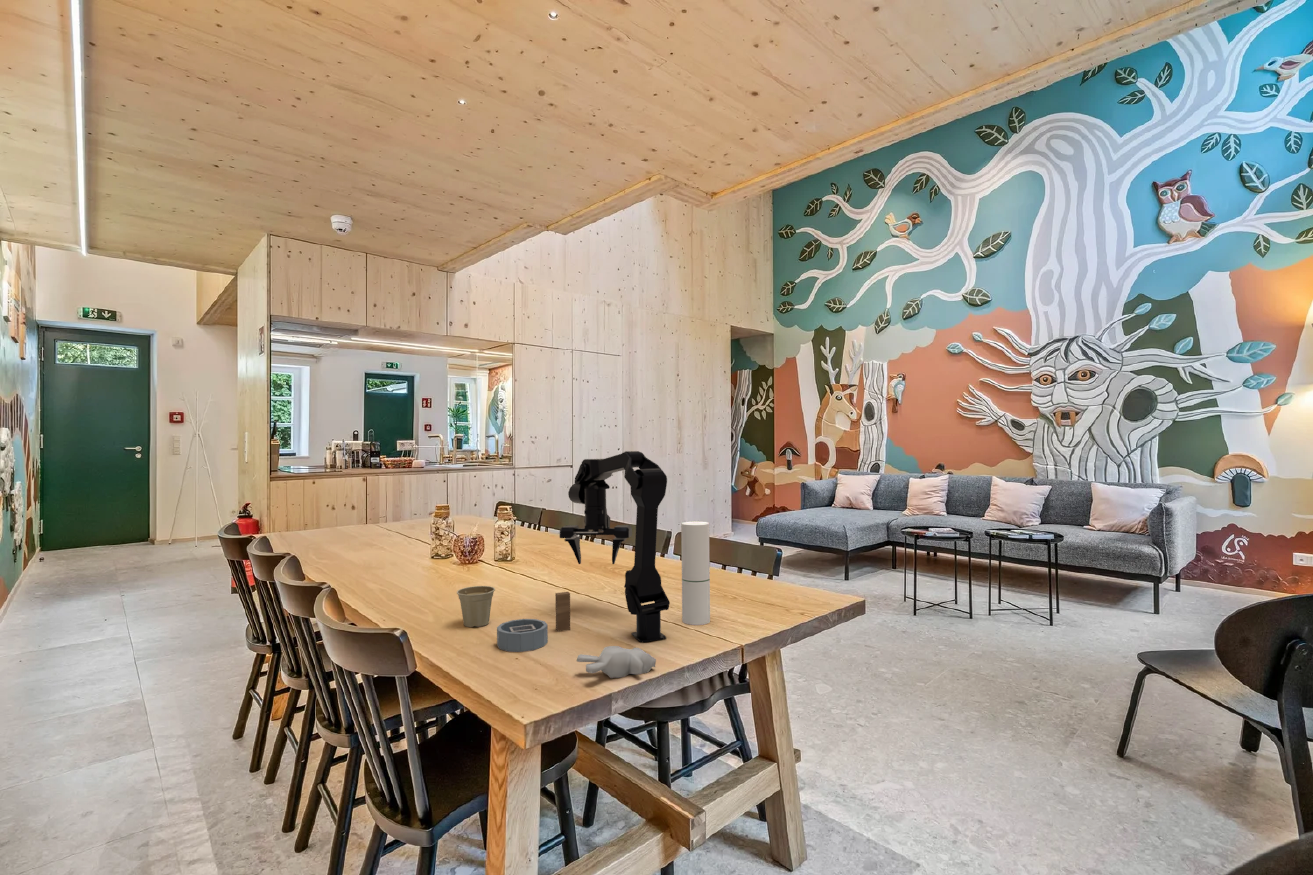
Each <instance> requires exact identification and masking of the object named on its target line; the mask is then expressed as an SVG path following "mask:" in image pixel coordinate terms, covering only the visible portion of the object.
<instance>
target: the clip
mask: <svg viewBox="0 0 1313 875" xmlns="http://www.w3.org/2000/svg"><path fill="white" fill-rule="evenodd" d="M534 630H536V628H535V627H534V626H533V624H532V625H524V626H516V627H509V632H519V633H521V632H529V631H534Z"/></svg>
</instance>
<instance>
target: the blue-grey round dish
mask: <svg viewBox="0 0 1313 875" xmlns="http://www.w3.org/2000/svg"><path fill="white" fill-rule="evenodd" d="M532 624H533V626H534V627H535V628H536V630H534V631H529V632H521V633H519V632H509V627H516V626H524V625H532ZM548 626H549V625H548V623H547V622H546V621H545V620H541V619H537V618H522V619H521V618H520V619H511V620H508V621H505V622H501V623H500V624H499V625H497V627H496V646H497V647H498V649H499V650H501V651H505V652H513V653H515V652H517V653H521V652H522V653H523V652H529V651H535V650H537V649H540V648H543V647H545V646H546V645H547V643H548V642H549V639H548V634H549V632H548V631H549V630H548V629H549V628H548Z"/></svg>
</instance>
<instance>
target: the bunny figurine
mask: <svg viewBox="0 0 1313 875" xmlns="http://www.w3.org/2000/svg"><path fill="white" fill-rule="evenodd" d="M576 658H577V659H576V662H579V663H586V664H585V672H586V673H589V674H595V673H598V672H600V671H601V672H602V673H604V674H605V675H606V676H608V677H609V678H610V679H614V678H615V679H616V678H618V679H619V678H624V677H626V676H628V675H641V674H646V673H649V671H650V670H652V668H655V667H656V662H657V659H656V658H655V657H654V656H652V655H651V654H650V653H649V652H646V651H644V650H643V649H642V648H640V647H633V648H631V649H629V648H624V647H621V646H619V645H609V646H605V647H603V649H602V651H601V653H600V654H599V656H597V655H591V654H578V655H577V657H576Z"/></svg>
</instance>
